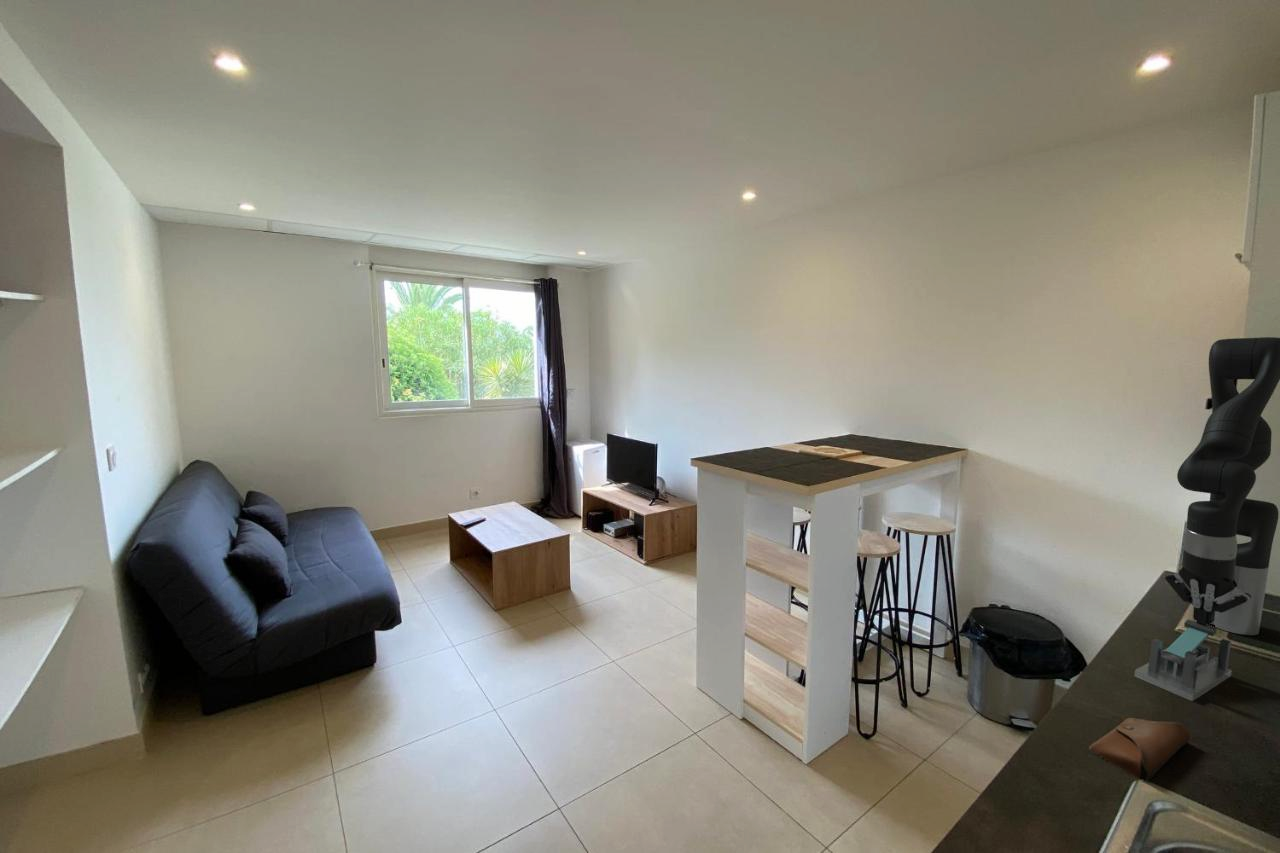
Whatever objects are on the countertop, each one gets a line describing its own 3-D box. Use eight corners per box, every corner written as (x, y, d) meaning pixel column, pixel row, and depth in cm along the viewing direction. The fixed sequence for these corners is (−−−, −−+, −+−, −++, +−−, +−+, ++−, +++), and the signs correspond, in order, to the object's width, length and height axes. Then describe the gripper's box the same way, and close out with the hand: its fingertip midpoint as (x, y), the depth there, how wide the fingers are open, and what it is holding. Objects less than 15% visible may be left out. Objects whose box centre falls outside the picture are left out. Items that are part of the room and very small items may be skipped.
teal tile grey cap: (1187, 626, 113) (1187, 619, 113) (1216, 635, 109) (1216, 628, 109) (1156, 656, 108) (1156, 649, 108) (1185, 668, 104) (1185, 660, 104)
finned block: (1173, 654, 117) (1177, 620, 116) (1230, 676, 109) (1235, 639, 108) (1134, 676, 110) (1138, 639, 109) (1192, 701, 102) (1197, 662, 101)
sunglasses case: (1126, 714, 99) (1153, 697, 95) (1167, 751, 94) (1198, 735, 90) (1084, 750, 90) (1112, 733, 86) (1126, 793, 85) (1158, 777, 82)
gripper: (1264, 555, 103) (1255, 631, 107) (1175, 535, 115) (1170, 604, 118) (1248, 567, 100) (1240, 644, 104) (1158, 545, 112) (1154, 615, 116)
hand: (1203, 623), depth 111 cm, fingers closed
